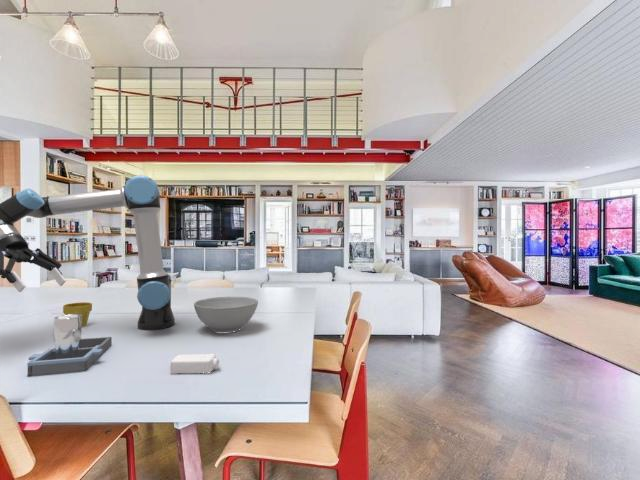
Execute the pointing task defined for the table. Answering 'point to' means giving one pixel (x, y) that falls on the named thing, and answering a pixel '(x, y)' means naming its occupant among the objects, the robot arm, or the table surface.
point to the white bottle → (194, 363)
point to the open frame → (86, 358)
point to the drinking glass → (67, 335)
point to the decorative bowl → (225, 312)
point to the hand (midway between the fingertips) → (44, 286)
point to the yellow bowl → (79, 310)
